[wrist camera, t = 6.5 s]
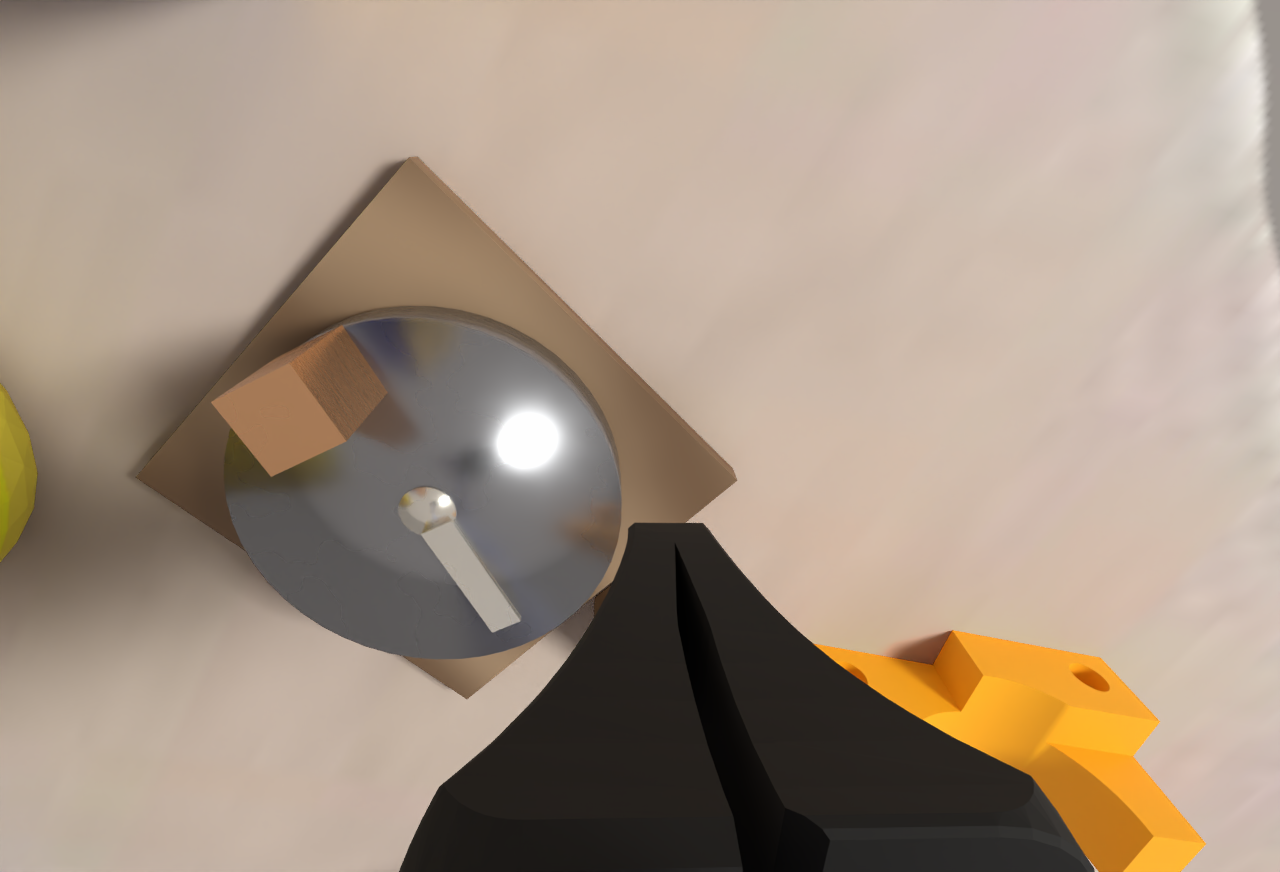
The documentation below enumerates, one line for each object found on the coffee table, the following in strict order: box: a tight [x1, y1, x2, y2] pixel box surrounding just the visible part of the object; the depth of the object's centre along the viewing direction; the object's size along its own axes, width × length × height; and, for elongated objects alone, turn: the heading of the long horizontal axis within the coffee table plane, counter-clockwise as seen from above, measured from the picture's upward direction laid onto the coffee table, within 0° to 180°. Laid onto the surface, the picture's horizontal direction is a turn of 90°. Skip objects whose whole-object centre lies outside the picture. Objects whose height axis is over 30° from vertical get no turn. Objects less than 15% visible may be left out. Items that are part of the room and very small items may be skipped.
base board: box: [136, 157, 737, 699], centre depth 21 cm, size 13×13×1 cm
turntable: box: [211, 306, 622, 659], centre depth 18 cm, size 11×11×5 cm
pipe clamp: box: [814, 630, 1206, 872], centre depth 23 cm, size 12×4×6 cm, turn 76°
